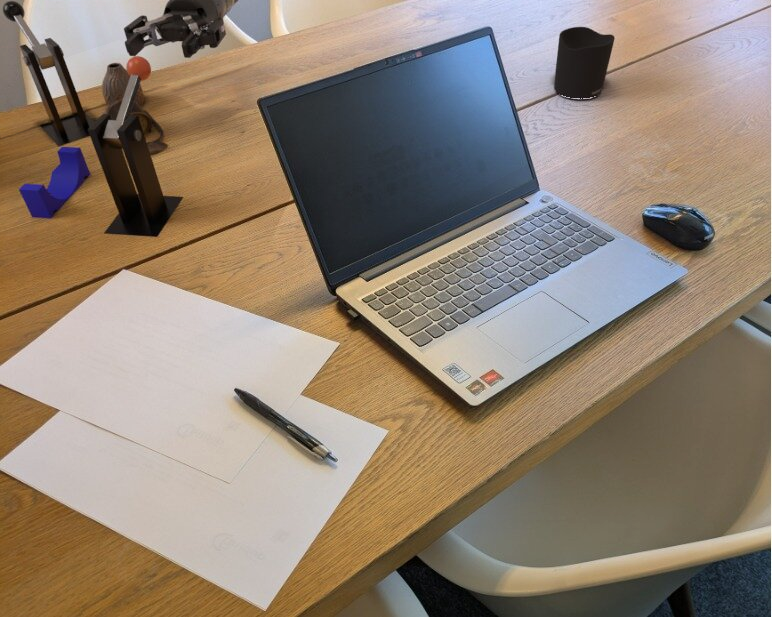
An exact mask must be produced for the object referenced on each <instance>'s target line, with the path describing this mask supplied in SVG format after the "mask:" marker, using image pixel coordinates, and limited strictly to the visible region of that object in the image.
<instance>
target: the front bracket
mask: <svg viewBox="0 0 772 617" xmlns="http://www.w3.org/2000/svg"><path fill="white" fill-rule="evenodd" d="M108 120H112V119H111V116H110V114H105V113H102V114H101V115H100V116H99V117H98V118H97V119H96V120H94V122H95V123H94V124H93V125H92V126H91V127H90V128H89V129H88V132H89V135H90V136H89V137H90V140H91V142H92V145H93V148H94V150H95V153H96V156H97V158H98V162H99V164H100V167H101V169H102V172H103V174H104V177H105V180H106V182H107V185H108V188H109V190H110V193H111V195H112V199H113V201H114V203H115V207H116V208H117V212H118V214H117V215H116V216H115V218H114V219H113V220H112V222H111V223H110V224H109V226H108V227H107V228H106V229H105V230H104V232H103V235H104V234H105V235H118V236H119V235H120V236H133V237H148V238H149V237H150V238H158V237H159V235H160V233H161V232H162V231H163V229H164V228H165V226H166V224H168V222H169V220H170V218H171V217H172V216H173V215H174V212H176V210H177V208H178V207H179V205H180V203H181V202H182V201H183V199H184V196H175V195H164V193H163V190H162V187H161V183H160V181H159V177H158V174H157V171H156V168H155V165H154V162H153V158H152V155H150V151H149V148H148V145H147V142H148V141H147V138H146V136H145V132H143V129H142V126H141V123H140V119H139V116H138V115H131V116H130V117H129V118H128V119H127V120H126V121H125V122H124V123H123V124H122V126H121V127H120V128H119V129H118V130H117V133H118V136H119V139H120V142H121V145H122V148H123V149H114V148H111V147H110V146H109V145H108V144H107V142H106V141H105V140H104V139H103V135H104V132H105V129H106V126H107V123H108Z"/></svg>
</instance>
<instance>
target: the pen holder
mask: <svg viewBox="0 0 772 617" xmlns="http://www.w3.org/2000/svg"><path fill="white" fill-rule="evenodd" d="M615 39H616V38H615V35H613V34H602V33H600V32H598V31H595V30H593V29H592V28H589V27H587V26H574V27H573V26H572V27H569V28H566V29H563V30H562V31H560V33H559V37H558V44H557V55H556V63H555V72H554V82H553V84H554V85H553V89H554V91H555V90H556V91H555V93H556V92H557V93H559V94H560V95H563V96H566V97H570V98H580V99H581V98H582V99H583V98H590V97H594V96H597V95H598V94H599V95H601V94H602V92H601V91H603V88H604V84H605V80H606V76H607V72H608V68H609V64H610V60H611V55H612V51H613V46H614V42H615ZM557 93H556V94H557ZM560 95H559V96H560ZM599 95H598V96H599ZM598 96H597V97H598Z"/></svg>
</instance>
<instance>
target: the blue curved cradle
mask: <svg viewBox="0 0 772 617" xmlns="http://www.w3.org/2000/svg"><path fill="white" fill-rule="evenodd" d="M56 153H57V155H58V159H59V164H58V165H57V166H56V167H55V168H54V169H53V170H52V171H51V173H50V174H51V175H50V180H49V183H48V186H47V188H46V186H45V184H39V183H37V184H36V183H24V184H23V185H22V186H20V187H19V188H18V192H19V193H20V195H21V197H22V199H23V201H24V204H25V205H26V208H27V209H28V212H29V213H30V216H31V217H32V218H37V219H53V217H54V212H55V211H56V212H58V211H59V210H60V209H61V208H62V207H63V206H64V205H65V204H66V203H67V202H68V200H69V199H70V198H72V196H73V195H74V194H75V193H76V191H77V190H78V189H79V188H80V187H81V186H82V185H83V184H84V183H85V178H89V177H90V176H91V172H90V169H89V167H88V164H87V162H86V159H85V156H84V154H83V152H82V149H81V147H74V146H60V148H59V149H58V150H57V151H56Z"/></svg>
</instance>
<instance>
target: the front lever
mask: <svg viewBox="0 0 772 617" xmlns="http://www.w3.org/2000/svg"><path fill="white" fill-rule="evenodd" d="M125 69H126V70H127V72H128V74H129V75H130V79H129V82H128V85H127V88H126V91H125V94H124V97H123V100H122V103H121V106H120V109H119V113H118V116H117V119H116V120H108V123H107V126H106V129H105V132H104V135H103V139H104V140H105V141H106V142H107V144H108V145H109V146H110V147H111V148H114V149H122V150H123V148H122V145H121V142H120V139H119V136H118V133H117V130H118V129H119V128H120V127H121V126H122V124H123V123H124V122H125V121H126V120H127V119H128V118H129V116H130V113H131V110H132V107H133V104H134V101H135V98H136V94H137V91H138V88H139V85H141V82H143V81H146V80H147V79H149V77H150V76H151V74H152V66H151V63H150V62H149V61H148V60H147V59H146V58H145V57H143V56H140V55H136V56H131V58H129V59H128V60H127V62H126V68H125Z"/></svg>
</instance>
